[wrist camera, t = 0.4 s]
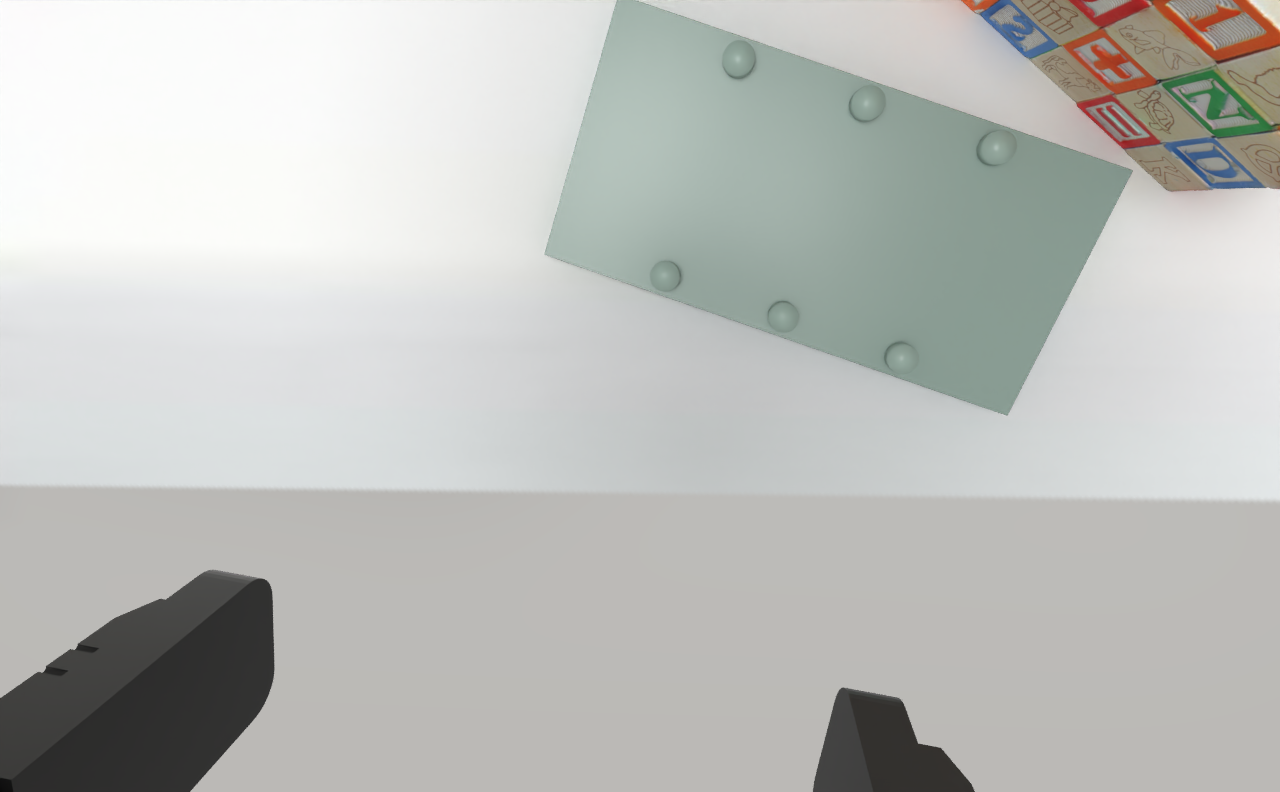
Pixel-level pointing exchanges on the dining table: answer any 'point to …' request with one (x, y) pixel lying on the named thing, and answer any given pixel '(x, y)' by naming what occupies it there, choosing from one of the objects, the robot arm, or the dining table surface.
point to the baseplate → (827, 206)
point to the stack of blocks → (1164, 79)
